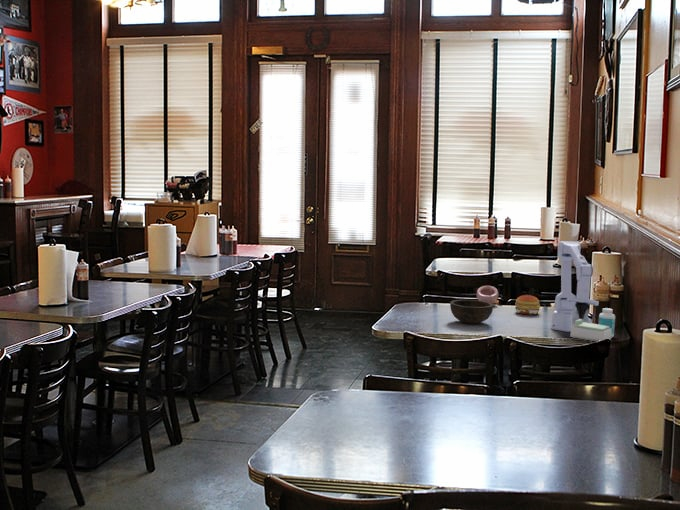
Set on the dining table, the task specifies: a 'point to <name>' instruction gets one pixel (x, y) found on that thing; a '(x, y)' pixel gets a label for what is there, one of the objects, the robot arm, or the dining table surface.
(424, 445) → the dining table surface
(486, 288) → the pink round pot
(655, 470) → the dining table surface
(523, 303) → the burger
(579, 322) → the lid
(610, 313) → the pill bottle
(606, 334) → the housing
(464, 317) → the bowl
